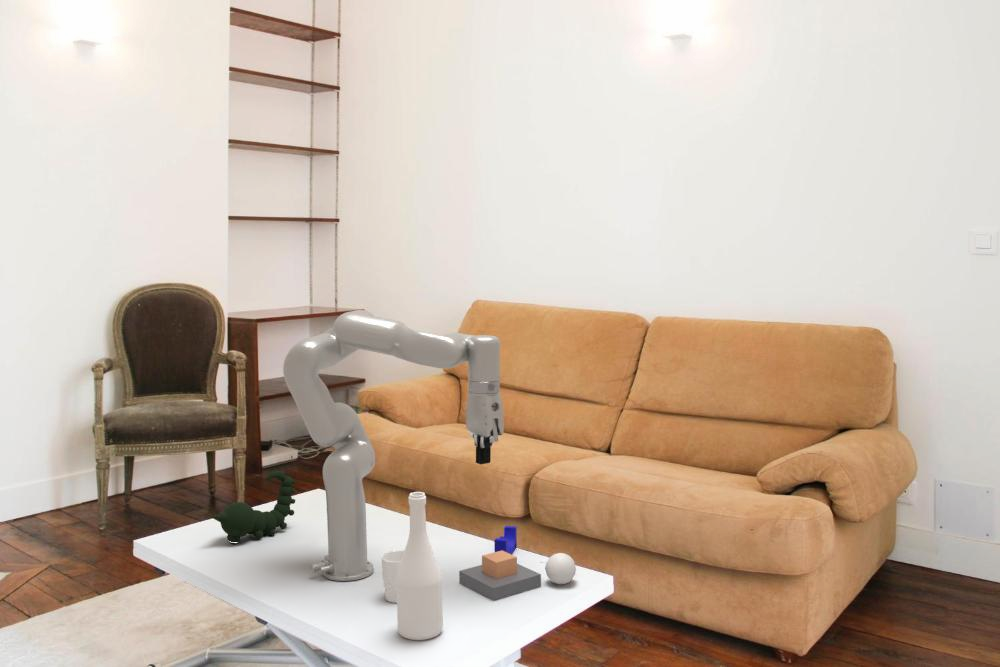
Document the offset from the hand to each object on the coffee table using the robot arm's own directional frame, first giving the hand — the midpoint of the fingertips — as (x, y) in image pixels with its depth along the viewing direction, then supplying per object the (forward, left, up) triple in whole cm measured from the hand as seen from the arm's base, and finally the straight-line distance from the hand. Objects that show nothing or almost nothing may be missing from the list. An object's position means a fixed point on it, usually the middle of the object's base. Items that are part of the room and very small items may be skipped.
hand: (483, 462), depth 220 cm
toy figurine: (-32, +67, -30) cm, 79 cm away
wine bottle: (-28, -15, -29) cm, 43 cm away
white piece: (+13, -11, -29) cm, 34 cm away
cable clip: (+15, +12, -30) cm, 35 cm away
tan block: (+1, -4, -29) cm, 29 cm away
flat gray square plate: (+1, -4, -29) cm, 30 cm away
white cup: (-22, +4, -29) cm, 37 cm away
